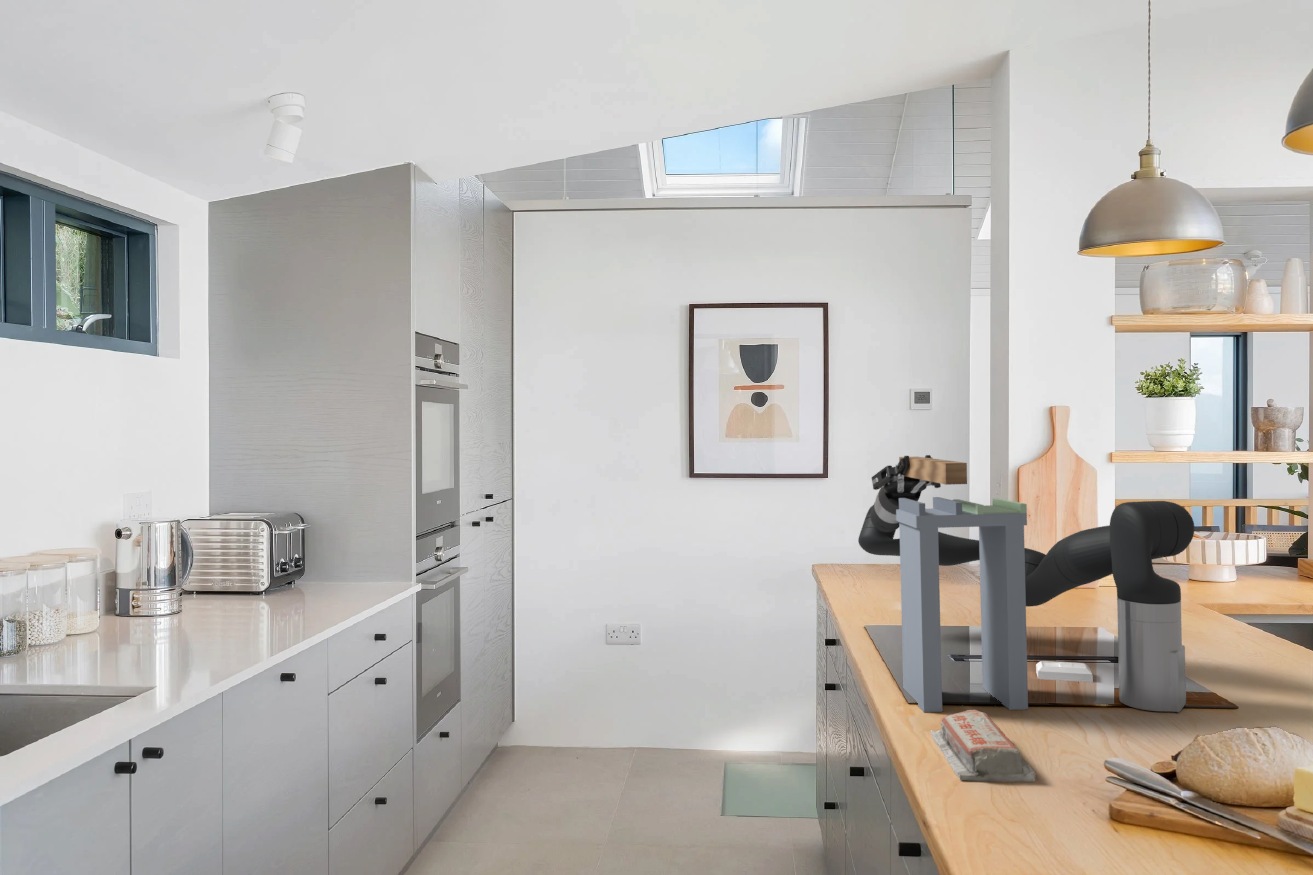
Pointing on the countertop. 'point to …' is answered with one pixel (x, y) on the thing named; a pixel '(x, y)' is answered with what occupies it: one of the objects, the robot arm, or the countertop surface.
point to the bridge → (997, 593)
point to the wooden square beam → (937, 470)
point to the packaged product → (980, 749)
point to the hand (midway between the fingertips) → (918, 459)
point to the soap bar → (1064, 671)
